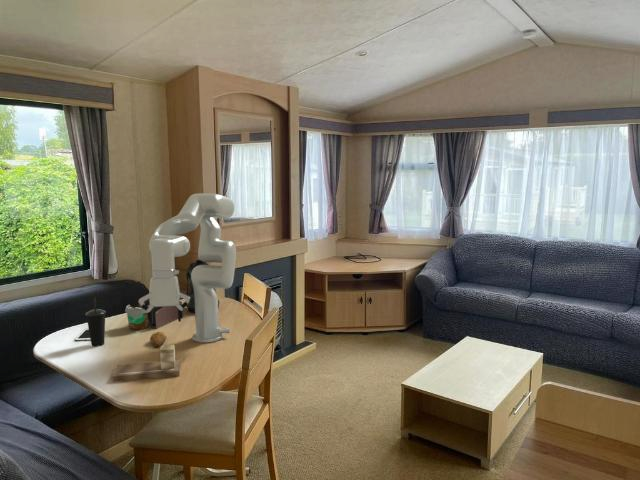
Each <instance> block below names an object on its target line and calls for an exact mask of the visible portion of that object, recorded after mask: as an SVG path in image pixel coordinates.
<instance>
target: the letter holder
mask: <svg viewBox="0 0 640 480" xmlns="http://www.w3.org/2000/svg"><path fill="white" fill-rule="evenodd" d="M148 294H149V293H146V294H145V295H143V296H142V297H140V298H139V299H141V298H143V297H145V296H146V295H148ZM139 299H138V301H137V307H141V308H142V306H141V305H140V303H139ZM179 302H180V303H181V304H183V302H182V301H181V300H180V301H179ZM144 303H145V304H146V305H147V306H148V307H149V305H150V303H149V299H147V300H146V301H144ZM152 313H153V322H152V323H151V324H150V321H149V328H148V329H154V330H157V329H159V328H162V327H164V326H166V325H168V324H170V323H172V322H175V321H177V320H178V308H177V307H176V306H164V307H153V308H152Z"/></svg>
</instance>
